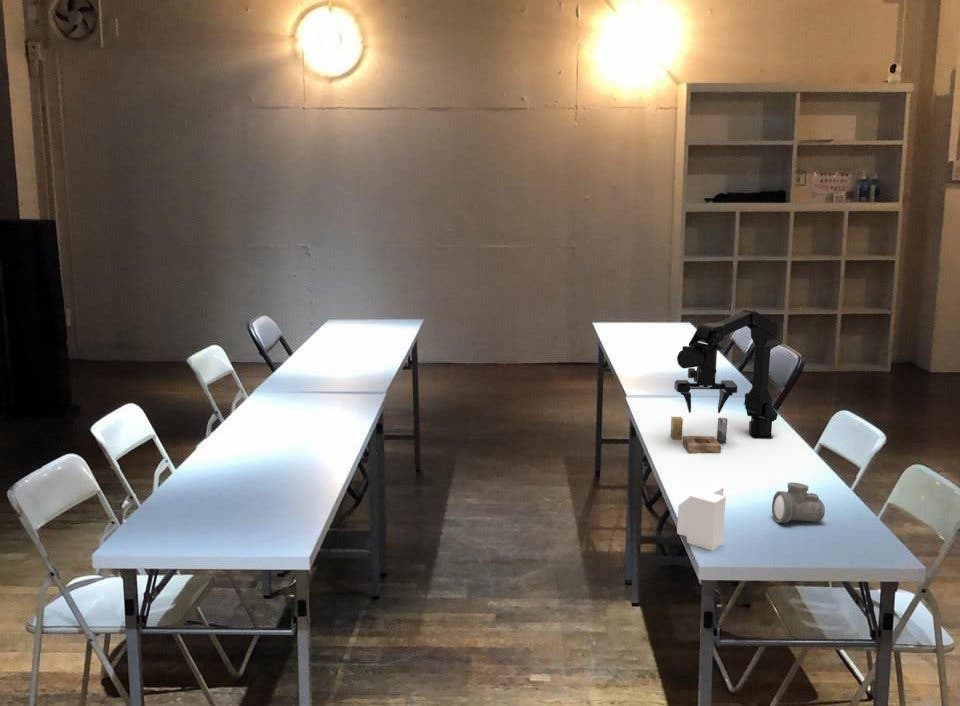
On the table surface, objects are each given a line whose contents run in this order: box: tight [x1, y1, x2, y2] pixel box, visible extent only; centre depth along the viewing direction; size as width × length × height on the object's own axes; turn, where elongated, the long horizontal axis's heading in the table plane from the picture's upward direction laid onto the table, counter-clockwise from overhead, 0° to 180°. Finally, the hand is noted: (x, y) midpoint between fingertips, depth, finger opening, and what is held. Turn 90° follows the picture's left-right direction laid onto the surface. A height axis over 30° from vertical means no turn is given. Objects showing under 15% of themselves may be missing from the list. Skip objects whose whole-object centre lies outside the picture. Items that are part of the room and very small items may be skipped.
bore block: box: [682, 435, 722, 454], centre depth 296 cm, size 10×10×3 cm
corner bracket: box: [676, 484, 727, 551], centre depth 226 cm, size 11×11×12 cm
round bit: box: [716, 417, 728, 445], centre depth 302 cm, size 3×3×8 cm
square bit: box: [669, 416, 684, 441], centre depth 307 cm, size 3×3×7 cm
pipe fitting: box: [771, 481, 826, 524], centre depth 237 cm, size 12×8×10 cm
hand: (704, 412), depth 294 cm, fingers open, 9 cm apart
